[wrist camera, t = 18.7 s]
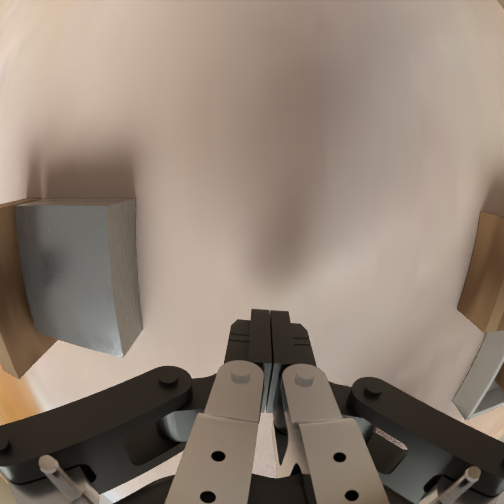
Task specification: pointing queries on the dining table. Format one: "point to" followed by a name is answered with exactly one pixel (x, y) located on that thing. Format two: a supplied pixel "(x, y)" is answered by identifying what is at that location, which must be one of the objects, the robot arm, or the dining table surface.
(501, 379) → the dowel
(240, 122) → the dining table surface
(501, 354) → the tray
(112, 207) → the grey rectangular block
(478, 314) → the socket block
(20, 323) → the block
